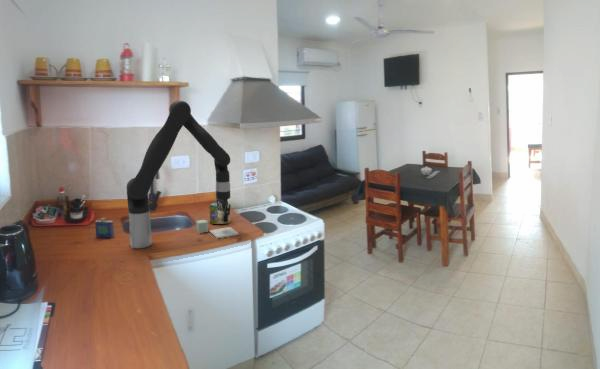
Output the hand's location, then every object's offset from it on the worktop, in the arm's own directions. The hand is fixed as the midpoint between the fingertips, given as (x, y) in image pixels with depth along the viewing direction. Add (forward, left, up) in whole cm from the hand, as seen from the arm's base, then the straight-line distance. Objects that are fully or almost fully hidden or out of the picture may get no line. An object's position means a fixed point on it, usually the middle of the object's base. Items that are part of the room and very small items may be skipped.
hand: (223, 220), depth 196 cm
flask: (-55, +24, -8) cm, 61 cm away
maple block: (0, 0, -1) cm, 1 cm away
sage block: (-9, +9, -8) cm, 15 cm away
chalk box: (+5, +20, -8) cm, 22 cm away
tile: (0, 0, -8) cm, 8 cm away
